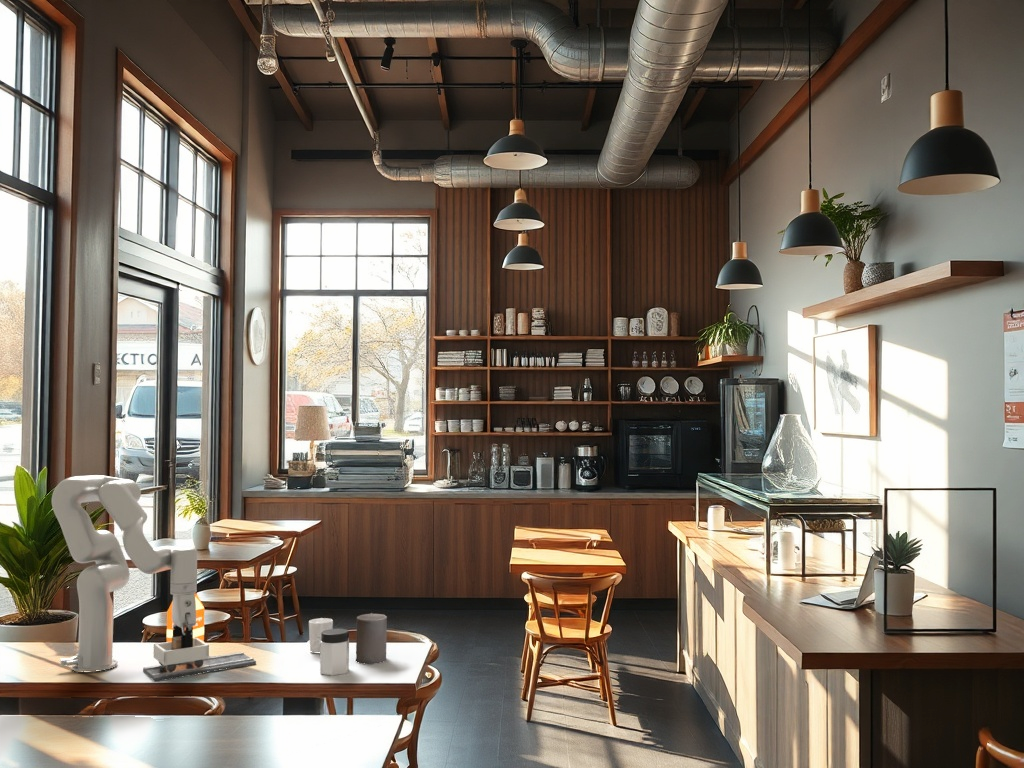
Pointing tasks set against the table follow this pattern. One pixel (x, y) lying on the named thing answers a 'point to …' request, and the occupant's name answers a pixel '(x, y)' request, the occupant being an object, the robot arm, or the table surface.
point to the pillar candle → (371, 638)
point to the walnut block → (176, 643)
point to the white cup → (318, 632)
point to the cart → (181, 654)
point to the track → (208, 665)
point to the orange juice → (197, 629)
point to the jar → (334, 652)
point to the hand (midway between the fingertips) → (182, 644)
